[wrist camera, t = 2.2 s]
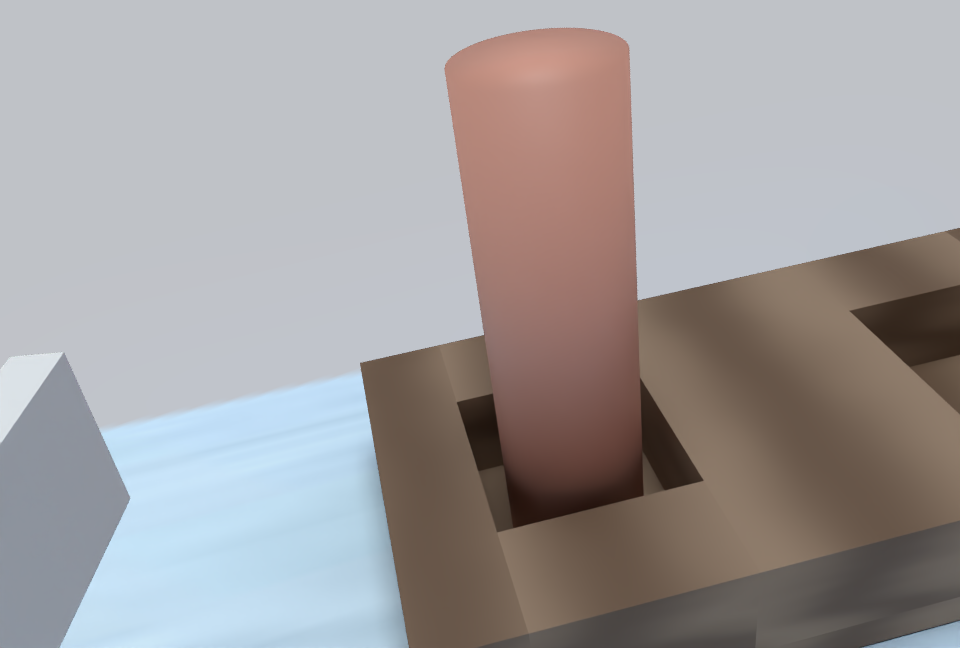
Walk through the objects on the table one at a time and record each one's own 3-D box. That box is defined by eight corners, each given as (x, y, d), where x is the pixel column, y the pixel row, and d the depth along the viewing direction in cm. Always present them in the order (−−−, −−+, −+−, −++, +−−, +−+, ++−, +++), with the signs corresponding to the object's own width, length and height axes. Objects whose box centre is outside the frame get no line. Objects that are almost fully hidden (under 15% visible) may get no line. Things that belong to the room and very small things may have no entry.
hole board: (992, 307, 35) (1013, 215, 32) (1287, 529, 25) (1346, 418, 23) (381, 452, 32) (360, 362, 30) (438, 763, 22) (411, 664, 20)
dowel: (657, 478, 28) (647, 26, 20) (626, 577, 25) (602, 91, 17) (535, 458, 29) (482, 29, 22) (493, 549, 26) (414, 89, 19)
